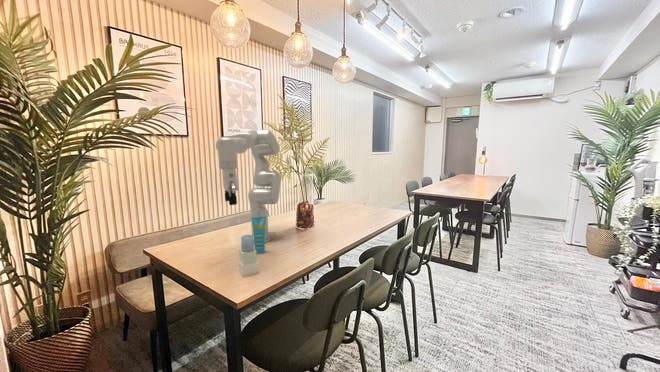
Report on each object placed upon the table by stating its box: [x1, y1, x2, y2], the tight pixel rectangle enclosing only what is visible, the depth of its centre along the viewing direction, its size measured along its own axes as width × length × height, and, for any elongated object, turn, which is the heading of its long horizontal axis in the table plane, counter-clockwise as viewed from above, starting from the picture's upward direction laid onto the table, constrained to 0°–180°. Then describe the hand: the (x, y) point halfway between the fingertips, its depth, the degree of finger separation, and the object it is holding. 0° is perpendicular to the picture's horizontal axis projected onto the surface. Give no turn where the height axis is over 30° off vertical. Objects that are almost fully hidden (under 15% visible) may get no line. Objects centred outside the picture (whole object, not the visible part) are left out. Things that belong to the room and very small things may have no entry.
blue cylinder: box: [240, 234, 255, 252], centre depth 119 cm, size 5×5×6 cm
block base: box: [238, 259, 260, 277], centre depth 120 cm, size 7×7×5 cm
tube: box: [250, 216, 266, 255], centre depth 142 cm, size 7×5×19 cm, turn 103°
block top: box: [238, 248, 258, 265], centre depth 120 cm, size 6×6×5 cm
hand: (230, 202), depth 125 cm, fingers open, 9 cm apart
